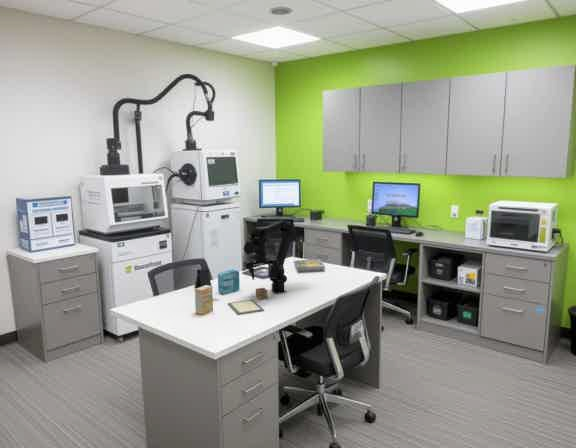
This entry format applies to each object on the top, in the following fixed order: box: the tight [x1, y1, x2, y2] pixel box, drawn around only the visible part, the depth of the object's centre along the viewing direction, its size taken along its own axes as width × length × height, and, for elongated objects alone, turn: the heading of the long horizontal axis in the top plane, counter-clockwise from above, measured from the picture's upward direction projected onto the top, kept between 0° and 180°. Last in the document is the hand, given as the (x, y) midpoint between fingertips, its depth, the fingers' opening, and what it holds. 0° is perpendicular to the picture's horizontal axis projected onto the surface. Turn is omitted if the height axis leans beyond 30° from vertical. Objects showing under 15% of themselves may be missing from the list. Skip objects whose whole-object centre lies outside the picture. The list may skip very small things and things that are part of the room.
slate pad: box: [227, 299, 265, 316], centre depth 236 cm, size 14×18×1 cm
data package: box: [217, 269, 240, 295], centre depth 263 cm, size 12×4×12 cm, turn 133°
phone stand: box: [194, 267, 212, 289], centre depth 270 cm, size 9×6×12 cm, turn 49°
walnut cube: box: [255, 287, 268, 301], centre depth 251 cm, size 5×5×5 cm
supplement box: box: [194, 285, 214, 316], centre depth 229 cm, size 8×5×13 cm, turn 148°
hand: (261, 278), depth 250 cm, fingers open, 9 cm apart
